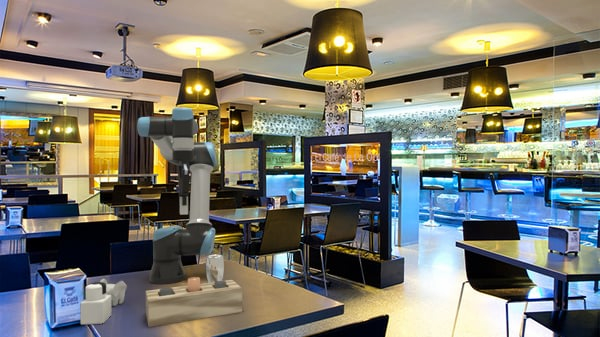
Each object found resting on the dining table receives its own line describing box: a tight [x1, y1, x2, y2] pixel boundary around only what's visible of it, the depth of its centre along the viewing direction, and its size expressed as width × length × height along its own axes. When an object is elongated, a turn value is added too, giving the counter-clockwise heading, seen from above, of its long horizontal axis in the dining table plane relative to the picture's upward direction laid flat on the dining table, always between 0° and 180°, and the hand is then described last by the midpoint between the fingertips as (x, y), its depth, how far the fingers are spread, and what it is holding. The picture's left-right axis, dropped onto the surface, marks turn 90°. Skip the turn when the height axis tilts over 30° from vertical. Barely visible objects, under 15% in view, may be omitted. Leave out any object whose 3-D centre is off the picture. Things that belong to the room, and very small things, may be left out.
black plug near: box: [159, 287, 173, 296], centre depth 134 cm, size 4×4×8 cm
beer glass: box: [205, 254, 225, 283], centre depth 158 cm, size 7×7×15 cm
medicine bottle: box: [79, 281, 113, 325], centre depth 133 cm, size 7×7×12 cm
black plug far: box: [214, 280, 226, 289], centre depth 142 cm, size 4×4×8 cm
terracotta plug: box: [187, 276, 201, 293], centre depth 138 cm, size 4×4×8 cm
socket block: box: [145, 279, 243, 328], centre depth 138 cm, size 12×30×8 cm, turn 115°
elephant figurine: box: [99, 278, 128, 307], centre depth 148 cm, size 10×12×9 cm
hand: (184, 214), depth 149 cm, fingers closed
